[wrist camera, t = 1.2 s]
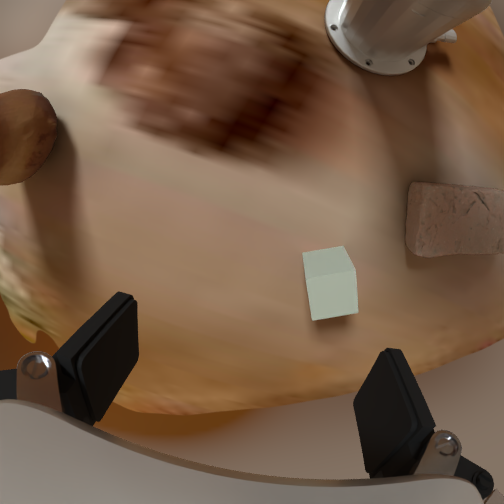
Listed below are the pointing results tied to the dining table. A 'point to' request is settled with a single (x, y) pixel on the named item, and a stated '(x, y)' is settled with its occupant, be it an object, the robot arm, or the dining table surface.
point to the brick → (454, 220)
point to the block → (330, 283)
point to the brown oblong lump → (24, 134)
